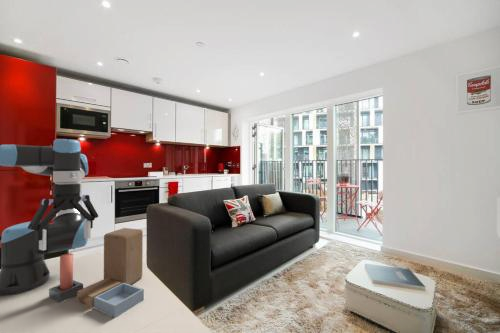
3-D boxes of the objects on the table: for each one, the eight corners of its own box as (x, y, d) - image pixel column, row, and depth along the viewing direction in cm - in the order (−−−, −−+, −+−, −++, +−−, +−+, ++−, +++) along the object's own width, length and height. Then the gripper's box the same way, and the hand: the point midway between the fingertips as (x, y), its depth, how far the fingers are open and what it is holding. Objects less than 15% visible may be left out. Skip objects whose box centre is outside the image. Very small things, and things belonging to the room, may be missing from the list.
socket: (49, 297, 78) (49, 288, 78) (71, 287, 85) (71, 279, 85) (60, 302, 75) (60, 293, 75) (83, 292, 82) (83, 283, 82)
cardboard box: (77, 302, 76) (77, 290, 76) (106, 288, 85) (107, 277, 85) (91, 309, 73) (91, 296, 73) (121, 293, 82) (121, 282, 82)
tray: (94, 308, 72) (94, 297, 72) (123, 292, 82) (123, 282, 82) (115, 317, 68) (115, 305, 68) (143, 299, 77) (143, 289, 77)
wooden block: (123, 290, 83) (124, 236, 83) (102, 286, 86) (102, 233, 86) (143, 277, 93) (143, 229, 93) (123, 274, 95) (123, 227, 95)
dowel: (57, 296, 79) (57, 256, 79) (69, 291, 82) (69, 252, 82) (63, 298, 78) (63, 258, 78) (75, 293, 81) (75, 254, 81)
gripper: (25, 186, 67) (25, 257, 67) (108, 181, 90) (108, 235, 90) (13, 185, 70) (13, 253, 70) (96, 181, 93) (96, 232, 93)
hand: (66, 243), depth 80 cm, fingers open, 13 cm apart
